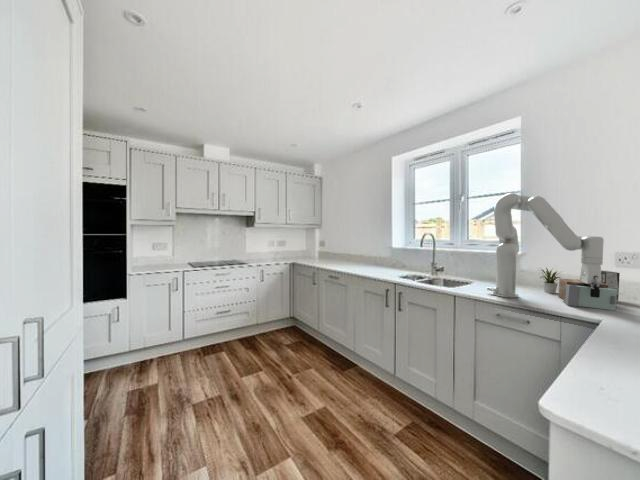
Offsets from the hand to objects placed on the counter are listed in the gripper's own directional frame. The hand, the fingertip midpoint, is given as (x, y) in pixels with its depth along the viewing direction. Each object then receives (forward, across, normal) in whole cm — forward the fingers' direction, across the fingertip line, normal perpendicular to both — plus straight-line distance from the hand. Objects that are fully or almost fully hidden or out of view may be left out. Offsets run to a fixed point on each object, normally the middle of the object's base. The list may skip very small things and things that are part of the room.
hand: (590, 295), depth 134 cm
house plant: (+6, -34, -9) cm, 36 cm away
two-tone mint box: (+6, 0, 0) cm, 6 cm away
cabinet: (+6, -9, 0) cm, 11 cm away
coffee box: (+6, -24, +14) cm, 29 cm away
